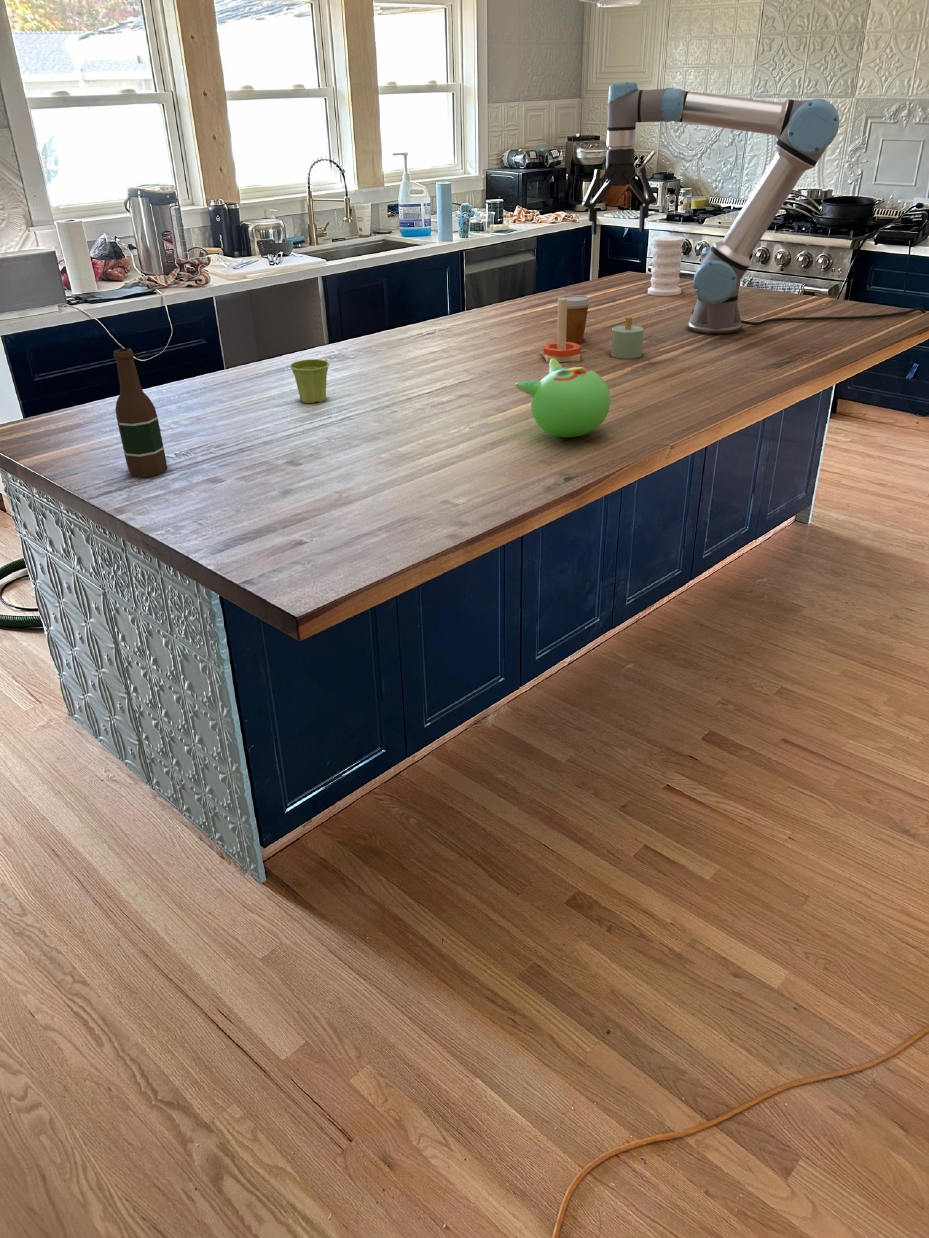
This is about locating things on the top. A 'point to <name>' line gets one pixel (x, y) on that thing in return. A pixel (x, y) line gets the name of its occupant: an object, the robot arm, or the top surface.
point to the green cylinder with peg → (627, 340)
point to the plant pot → (311, 379)
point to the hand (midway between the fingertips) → (617, 232)
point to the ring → (552, 349)
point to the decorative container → (666, 265)
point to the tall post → (562, 333)
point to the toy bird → (568, 400)
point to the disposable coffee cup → (576, 317)
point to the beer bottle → (137, 422)
